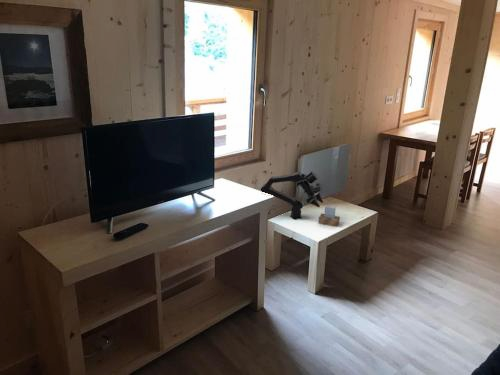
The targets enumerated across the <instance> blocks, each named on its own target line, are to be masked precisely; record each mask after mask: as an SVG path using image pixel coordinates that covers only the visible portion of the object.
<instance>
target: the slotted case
mask: <svg viewBox="0 0 500 375" xmlns="http://www.w3.org/2000/svg"><path fill="white" fill-rule="evenodd" d="M340 219H341V218H340V216H338V215H335V219H332V218H327V217H324V213H320V215H319V217H318V224H319V225H324V226H325V225H326V226H330V227H335V228H337V227H338V225H339V223H340Z"/></svg>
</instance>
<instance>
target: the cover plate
mask: <svg viewBox="0 0 500 375" xmlns="http://www.w3.org/2000/svg"><path fill="white" fill-rule="evenodd" d="M323 214H324V217H327V218H332V219H335V216H336V207H335V206H330V205H329V206H328V205H325V206H324V212H323Z"/></svg>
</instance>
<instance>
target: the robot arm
mask: <svg viewBox="0 0 500 375" xmlns="http://www.w3.org/2000/svg"><path fill="white" fill-rule="evenodd" d="M318 179H319V177H318V175H317V174H316V173H315V172H313V171H310V172H309V173H307V174H306V173H305V174H304V173H302V172H300V171H296V172H292V173H290V174H286V175H285V174H284V175H278V176H270V178H269V179H268V181H267V182H266V183H264V184H263V185H262V186H261V187H260V192H261V191H262V192H265V193H268V194H271V195H270V196H272V195H273V197H275V198H277V199H280V200H281V201H283V202H286V203H288V204H290V205H291V210H290V215H289V218H291V219H293V220H299V219H302V218H303V217H302V209H303V207H304V200H303V199H302V197H299V196H295V197H292V196H290V195H288V194H285V193H284V192H281V191H279V190H276V189H274V187H272V185H273V184H277V183H285V182H293V183H296V187H299V186H300V187H301V189H302V190H303V193H305V194H306V195H307V198H306V199H305V202H306V203H307V204H310V205H313V206H315V207H318V208H320V203H324V201H323V199H322V197H321V196H322V195H321V191H322V190H323V188H322V187H323V186H322V185H321V184H320V183H319V182H318V183H316V185H311V184H314V183H315V181H317V180H318Z"/></svg>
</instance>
